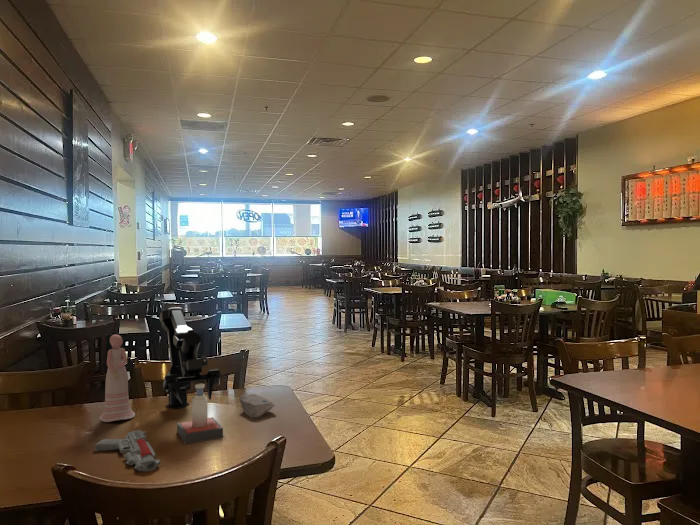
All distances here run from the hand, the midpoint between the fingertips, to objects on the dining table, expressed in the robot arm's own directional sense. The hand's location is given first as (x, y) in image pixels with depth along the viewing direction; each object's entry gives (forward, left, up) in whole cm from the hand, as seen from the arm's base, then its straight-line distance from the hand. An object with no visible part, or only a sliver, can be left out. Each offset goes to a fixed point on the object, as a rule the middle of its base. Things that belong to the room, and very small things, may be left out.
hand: (196, 401), depth 174 cm
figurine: (-34, -3, -10) cm, 36 cm away
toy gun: (-3, -26, -11) cm, 28 cm away
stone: (+7, +24, -10) cm, 27 cm away
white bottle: (+3, -2, -7) cm, 8 cm away
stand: (+4, -2, -10) cm, 11 cm away
